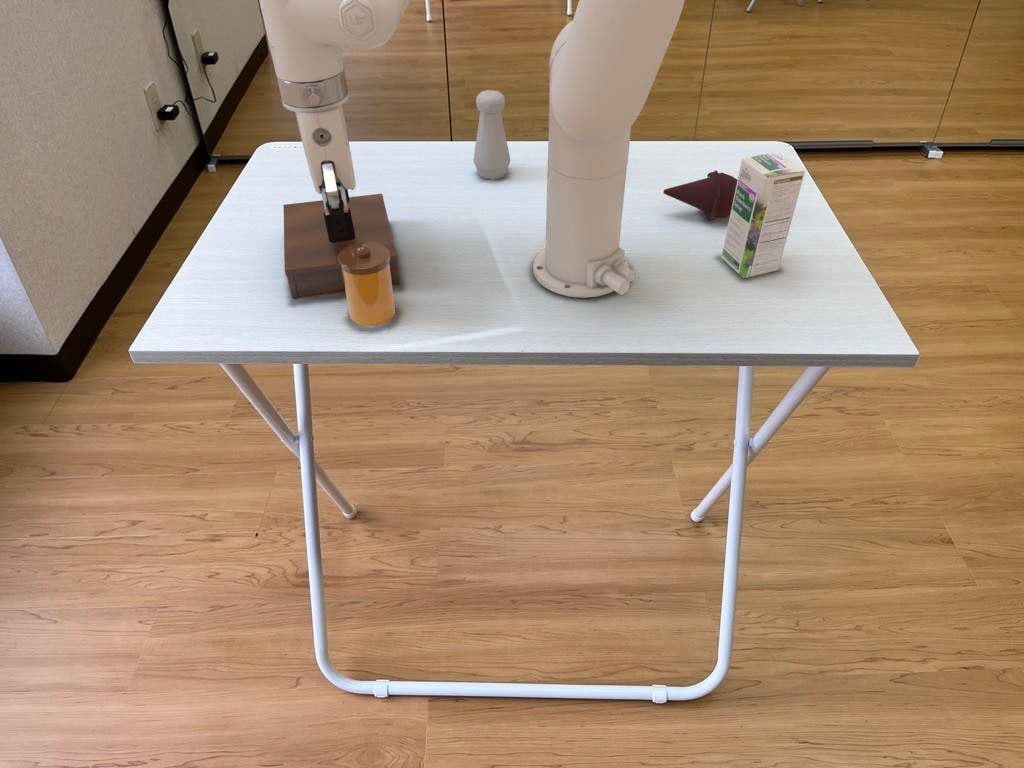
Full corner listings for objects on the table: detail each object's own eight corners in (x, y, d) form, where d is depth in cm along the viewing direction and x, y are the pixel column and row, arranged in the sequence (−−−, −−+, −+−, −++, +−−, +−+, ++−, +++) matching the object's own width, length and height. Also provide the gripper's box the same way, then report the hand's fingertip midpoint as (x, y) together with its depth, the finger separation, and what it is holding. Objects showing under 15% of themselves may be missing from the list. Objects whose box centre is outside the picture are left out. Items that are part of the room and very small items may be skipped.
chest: (400, 288, 100) (396, 260, 98) (293, 303, 98) (286, 274, 95) (386, 225, 112) (382, 198, 110) (290, 237, 110) (284, 210, 107)
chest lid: (397, 261, 97) (396, 255, 96) (285, 275, 94) (284, 270, 94) (382, 198, 110) (382, 193, 109) (284, 209, 107) (283, 204, 107)
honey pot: (399, 327, 94) (390, 256, 88) (351, 334, 93) (338, 262, 87) (394, 300, 99) (385, 229, 92) (347, 306, 98) (334, 236, 91)
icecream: (671, 190, 107) (778, 199, 107) (667, 154, 111) (770, 163, 111) (659, 227, 112) (761, 235, 113) (656, 191, 116) (754, 199, 117)
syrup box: (719, 258, 105) (739, 157, 96) (756, 249, 107) (779, 149, 97) (742, 279, 101) (766, 177, 92) (780, 270, 103) (807, 168, 93)
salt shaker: (506, 183, 122) (505, 102, 113) (470, 180, 123) (466, 99, 114) (513, 167, 126) (512, 87, 118) (479, 164, 127) (476, 84, 119)
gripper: (352, 112, 82) (376, 251, 94) (341, 58, 95) (363, 186, 106) (280, 121, 81) (313, 260, 93) (279, 65, 94) (308, 194, 105)
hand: (340, 221), depth 99 cm, fingers open, 9 cm apart
